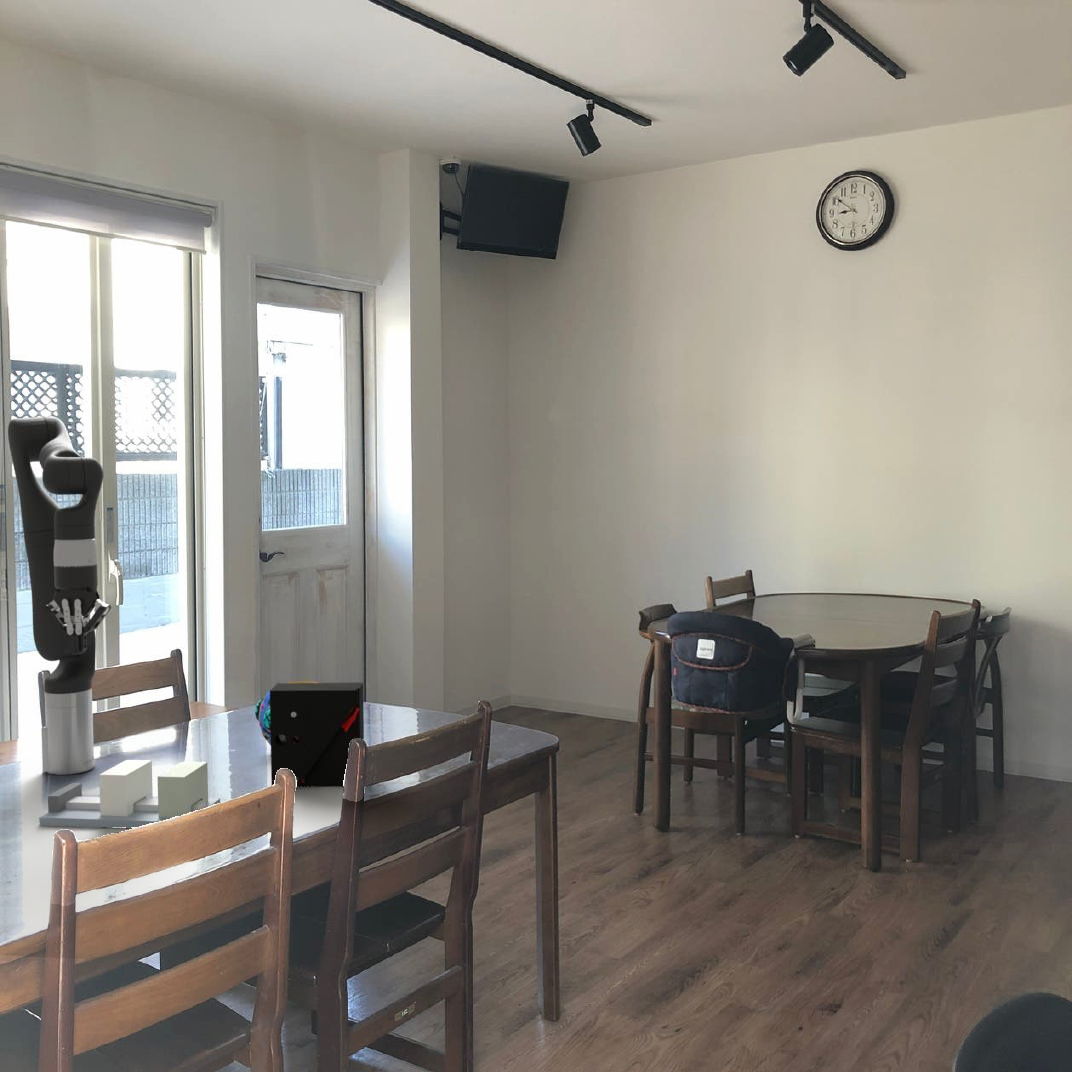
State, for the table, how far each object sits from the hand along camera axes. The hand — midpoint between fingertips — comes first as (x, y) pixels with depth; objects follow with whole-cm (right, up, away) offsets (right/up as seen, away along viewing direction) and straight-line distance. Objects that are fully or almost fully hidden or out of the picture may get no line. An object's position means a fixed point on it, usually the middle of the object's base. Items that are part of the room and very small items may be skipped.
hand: (78, 653), depth 203 cm
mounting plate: (+12, -29, -6) cm, 32 cm away
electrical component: (+43, -28, +15) cm, 54 cm away
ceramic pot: (+33, -27, +39) cm, 58 cm away
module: (+11, -28, -5) cm, 31 cm away
